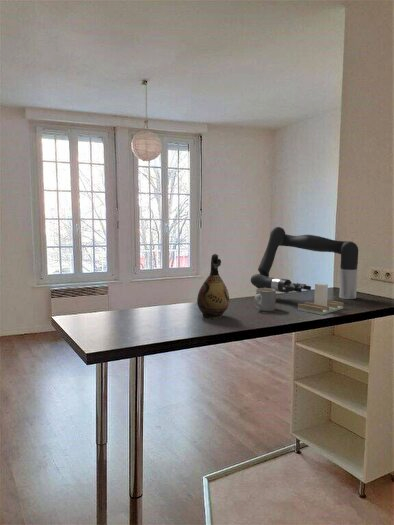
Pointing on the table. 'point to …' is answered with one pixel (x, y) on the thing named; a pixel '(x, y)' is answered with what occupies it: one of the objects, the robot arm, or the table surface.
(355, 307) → the table surface
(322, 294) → the clay bar
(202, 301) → the ceramic jug
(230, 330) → the table surface
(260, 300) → the coffee mug
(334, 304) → the drying rack
